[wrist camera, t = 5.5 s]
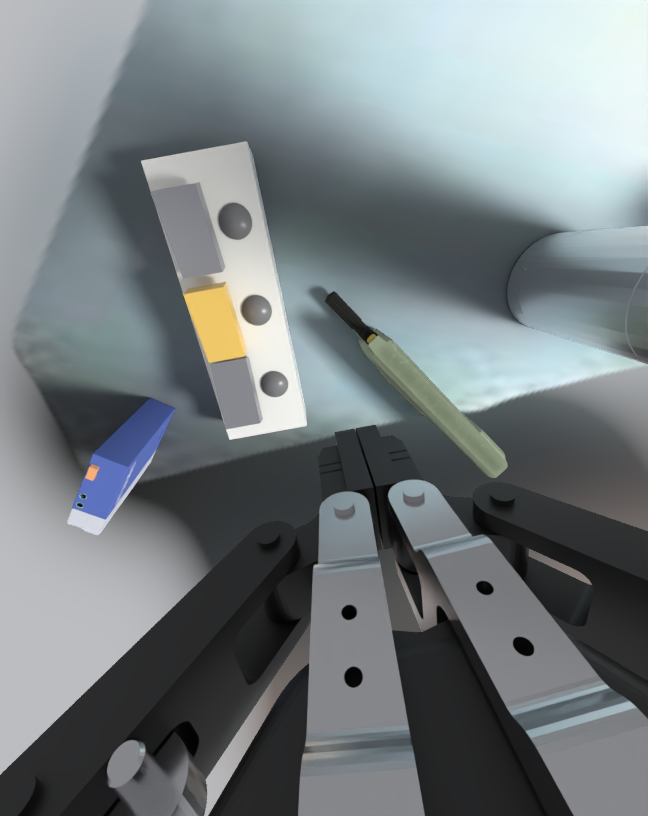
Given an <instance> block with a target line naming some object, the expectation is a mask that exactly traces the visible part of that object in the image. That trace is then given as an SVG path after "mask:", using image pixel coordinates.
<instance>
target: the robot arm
mask: <svg viewBox="0 0 648 816" xmlns="http://www.w3.org/2000/svg"><path fill="white" fill-rule="evenodd" d="M507 300H508V304H509V308H510V310H511V312H512V314H513V315H514V317H515V318H516V319H517V320H518V321H519V322H520V323H522V324H524V325H525V326H527V327H531V328H534V329H537V330H540V331H543V332H547V333H550V334H552V335H555V336H559V337H562V338H565V339H568V340H571V341H575V342H578V343H581V344H584V345H588V346H591V347H594V348H597V349H600V350H604V351H607V352H610V353H613V354H616V355H620V356H623V357H626V358H629V359H633V360H636V361H639V362H642V363H645V364H648V225H646V226H634V227H622V228H609V229H597V230H583V231H571V232H561V233H555V234H551V235H548V236H546V237H543V238H541V239H540V240H538V241H537V242H535V243H534V244H532V245H531V246H530V247H529V248H528V249H527V250H526V251H525V252H524V253H523V254H522V255H521V257H520V258H519V259H518V261H517V262H516V264H515V266H514V268H513V270H512V272H511V275H510V278H509V281H508V288H507ZM335 437H336V443H337V446H332V447H326V448H323V449H322V451H321V452H320V454H319V456H318V461H319V470H320V481H321V490H322V500H323V503H322V504H321V506H320V511H319V514H318V515H317V516H316V518H314V519H313V520H312V521H310V522H309V523H307V524H305V525H303V526H301V527H298V528H296V529H294V528H293V527H292V526H291V525H290V524H288V523H286V522H282V521H273V522H268V523H265V524H262V525H260V526H258V527H257V528H255V529H254V530H253V531H251V532H250V533H249V534H248V535H247V536H246V537H245V538H244V539H243V540H242V541H241V542H240V543H239V544H238V545H237V546H236V547H235V548H234V549H233V550H232V551H231V552H230V553H229V554H228V555H227V556H226V557H224V558H223V559H222V560H221V561H220V562H219V563H218V564H217V565H216V566H215V567H214V568H213V569H212V570H211V571H210V572H209V573H208V574H207V575H206V576H205V577H204V578H203V579H202V580H201V581H200V582H199V583H198V584H197V585H196V586H195V587H194V588H193V589H191V590H190V591H189V592H188V593H187V594H186V595H185V596H184V597H183V598H182V599H181V600H180V601H179V602H178V603H177V604H176V605H175V606H174V607H173V608H172V609H171V610H170V611H169V612H168V613H167V614H166V615H165V616H164V617H163V618H162V619H161V620H160V621H158V622H157V623H156V624H155V625H154V626H153V627H152V628H151V629H150V630H149V631H148V632H147V633H146V634H145V635H144V636H143V637H142V638H141V639H140V640H139V641H138V642H137V643H136V644H135V645H134V646H133V647H132V648H131V649H130V650H129V651H128V652H127V653H126V654H124V655H123V656H122V657H121V658H120V659H119V660H118V661H117V662H116V663H115V664H114V665H113V666H112V667H111V668H110V669H109V670H108V671H107V672H106V673H105V674H104V675H103V676H102V677H101V678H100V679H99V680H98V681H97V682H96V683H95V684H94V685H93V686H92V687H90V689H88V690H87V691H86V692H85V693H84V694H83V695H82V696H81V697H80V698H79V699H78V700H77V701H76V702H75V703H74V704H73V705H72V706H71V707H70V708H69V709H68V710H67V711H66V712H65V713H64V714H63V715H62V716H60V717H59V718H58V719H57V720H56V721H55V722H54V723H53V724H52V725H51V726H50V727H49V728H48V729H47V730H46V731H45V732H44V733H43V734H42V735H41V736H40V737H39V738H38V739H37V740H36V741H35V742H34V743H33V744H32V745H31V746H30V747H28V749H27V750H26V751H24V752H23V753H22V754H21V755H20V756H19V757H18V758H17V759H16V760H15V761H14V762H13V763H12V764H11V765H10V766H9V767H8V768H7V769H6V770H5V771H4V772H3V773H2V774H1V775H0V816H204V814H205V808H206V803H207V784H206V778H207V776H208V775H209V774H210V772H211V771H212V769H213V768H214V766H215V765H216V763H217V762H218V760H219V759H220V757H221V756H222V754H223V753H224V751H225V750H226V748H227V747H228V745H229V744H230V742H231V741H232V739H233V738H234V736H235V735H236V733H237V732H238V730H239V729H240V727H241V726H242V724H243V723H244V721H245V720H246V718H247V717H248V715H249V714H250V712H251V711H252V709H253V708H254V706H255V705H256V703H257V702H258V700H259V699H260V697H261V696H262V694H263V693H264V691H265V690H266V688H267V687H268V685H269V684H270V682H271V681H272V679H273V678H274V676H275V675H276V673H277V672H278V670H279V669H280V667H281V666H282V665H283V663H284V662H285V660H286V658H287V657H288V655H289V654H290V652H291V651H292V650H293V648H294V646H295V645H296V644H297V642H298V640H299V639H300V638H301V636H302V635H303V633H304V632H305V630H306V628H307V627H308V626H309V624H310V623H311V634H310V660H309V664H308V665H306V666H305V667H304V668H303V669H302V670H301V671H299V673H298V674H297V675H296V676H295V677H294V678H293V679H292V680H291V681H290V682H289V683H288V685H287V686H286V687H285V689H284V690H283V691H282V693H281V694H280V696H279V697H278V699H277V700H276V702H275V704H274V706H273V707H272V709H271V711H270V712H269V714H268V716H267V717H266V719H265V721H264V722H263V724H262V726H261V727H260V729H259V731H258V733H257V735H256V736H255V738H254V740H253V741H252V743H251V744H250V746H249V748H248V750H247V751H246V753H245V755H244V756H243V758H242V760H241V761H240V763H239V765H238V767H237V768H236V770H235V772H234V773H233V775H232V777H231V778H230V780H229V782H228V783H227V785H226V787H225V788H224V790H223V792H222V794H221V795H220V797H219V799H218V800H217V802H216V804H215V805H214V807H213V809H212V811H211V812H210V814H209V815H208V816H648V531H645V530H642V529H639V528H637V527H634V526H630V525H628V524H625V523H622V522H619V521H616V520H613V519H610V518H607V517H605V516H602V515H599V514H596V513H593V512H590V511H587V510H584V509H581V508H578V507H576V506H573V505H570V504H567V503H564V502H561V501H558V500H555V499H552V498H549V497H546V496H544V495H541V494H538V493H535V492H532V491H529V490H526V489H523V488H520V487H517V486H515V485H511V484H507V483H501V482H492V483H486V484H483V485H481V486H479V487H478V488H476V489H475V491H474V493H473V498H462V497H450V496H445V495H442V494H441V493H440V492H439V491H438V489H437V488H436V487H435V486H434V485H432V484H430V483H428V482H425V481H424V479H423V478H422V476H421V474H420V472H419V471H418V469H417V467H416V465H415V464H414V462H413V460H412V458H411V457H410V455H409V453H408V451H407V449H406V447H405V446H404V444H403V442H402V441H401V440H399V439H397V438H396V437H394V436H393V435H391V436H386V437H381V436H380V434H379V431H378V429H377V427H376V425H371V426H366V427H360V428H356V433H355V430H354V429H350V430H344V431H339V432H335ZM380 537H381V541H382V544H383V548H384V549H388V548H393V551H394V554H395V560H396V569H397V572H398V575H399V577H400V580H401V582H402V584H403V587H404V589H405V592H406V594H407V597H408V598H409V601H410V604H411V606H412V609H413V611H414V614H415V616H416V618H417V621H418V623H419V626H420V628H421V631H422V632H405V631H392V629H391V623H390V617H389V612H388V606H387V601H386V594H385V589H384V583H383V577H382V572H381V566H380V560H379V553H378V550H382V547H381V541H380ZM529 549H531V550H534V551H536V552H538V553H541V554H543V555H545V556H547V557H549V558H551V559H554V560H556V561H558V562H560V563H562V564H565V565H567V566H569V567H571V568H573V569H575V570H577V571H579V572H581V573H582V574H583V575H585V576H586V577H587V578H588V579H589V580H590V582H591V583H592V585H589V584H587V583H584V582H582V581H580V580H578V579H576V578H574V577H571V576H569V575H567V574H565V573H563V572H561V571H558V570H557V569H554V568H552V567H550V566H548V565H546V564H544V563H542V562H539V561H537V560H535V559H533V558H531V557H529V556H528V555H529Z"/></svg>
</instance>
